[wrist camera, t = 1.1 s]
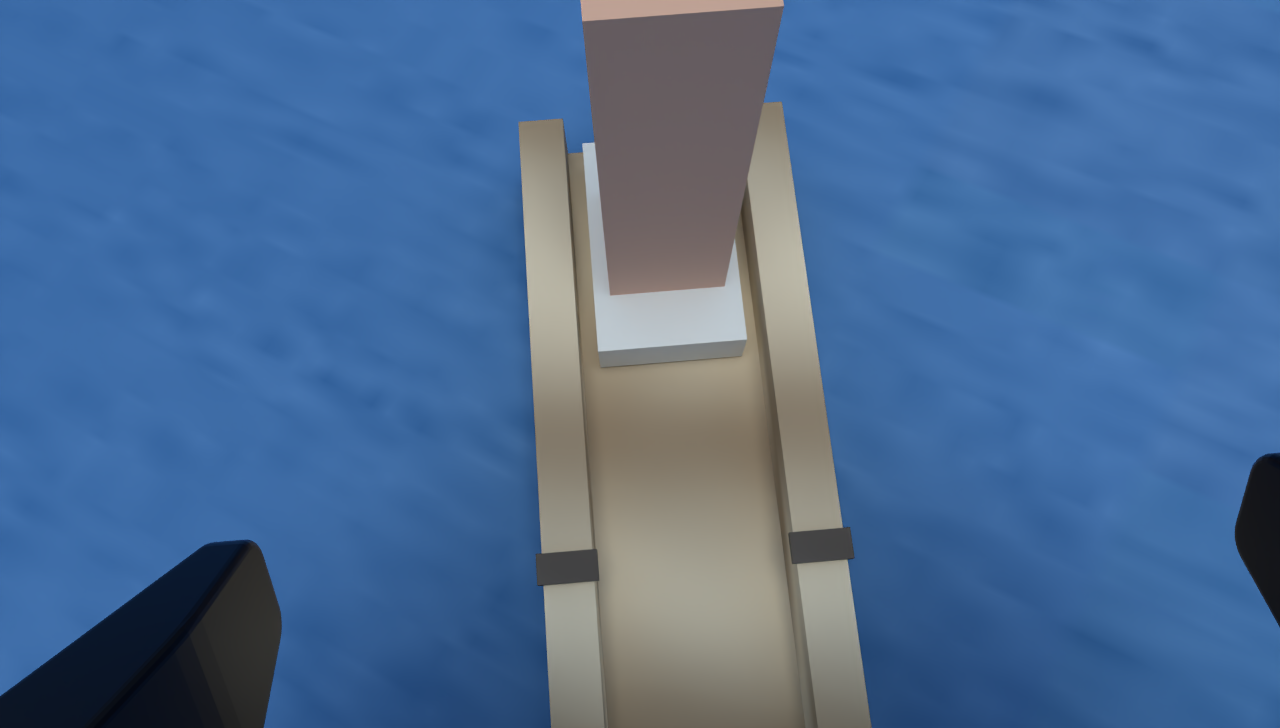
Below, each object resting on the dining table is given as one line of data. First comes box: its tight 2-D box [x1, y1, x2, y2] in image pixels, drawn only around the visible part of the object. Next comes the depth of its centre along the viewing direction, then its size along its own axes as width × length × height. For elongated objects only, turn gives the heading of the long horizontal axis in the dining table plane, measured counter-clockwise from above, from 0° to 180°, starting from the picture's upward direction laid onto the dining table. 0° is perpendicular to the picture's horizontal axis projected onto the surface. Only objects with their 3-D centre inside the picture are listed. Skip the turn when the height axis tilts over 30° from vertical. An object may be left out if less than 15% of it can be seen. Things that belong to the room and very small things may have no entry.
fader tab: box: [581, 0, 784, 368], centre depth 17 cm, size 5×3×11 cm, turn 5°
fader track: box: [519, 102, 871, 728], centre depth 21 cm, size 16×6×3 cm, turn 5°
